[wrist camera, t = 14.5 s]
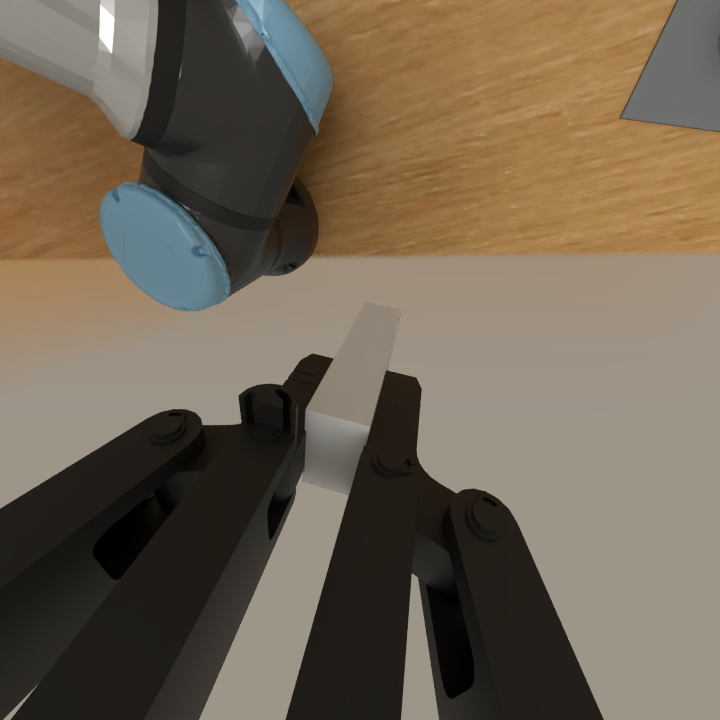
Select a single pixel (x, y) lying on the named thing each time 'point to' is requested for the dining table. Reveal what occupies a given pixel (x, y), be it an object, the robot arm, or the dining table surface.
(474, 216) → the dining table surface
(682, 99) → the mat
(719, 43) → the shaker
